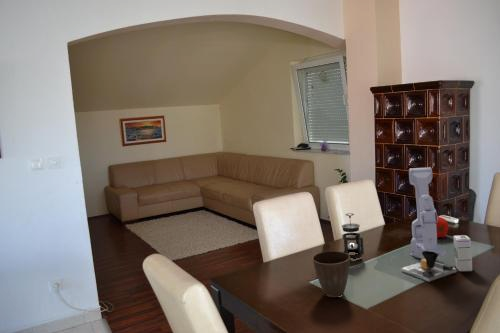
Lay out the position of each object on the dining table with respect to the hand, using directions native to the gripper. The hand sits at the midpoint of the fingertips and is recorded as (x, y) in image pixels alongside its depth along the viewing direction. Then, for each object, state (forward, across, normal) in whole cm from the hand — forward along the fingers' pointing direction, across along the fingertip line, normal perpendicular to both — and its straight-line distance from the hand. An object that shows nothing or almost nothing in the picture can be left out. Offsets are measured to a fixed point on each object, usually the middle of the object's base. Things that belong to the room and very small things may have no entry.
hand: (431, 267), depth 180 cm
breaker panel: (+3, -2, 0) cm, 3 cm away
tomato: (+3, -33, +42) cm, 54 cm away
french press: (+3, -36, -13) cm, 39 cm away
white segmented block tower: (+3, +5, +14) cm, 15 cm away
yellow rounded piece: (+1, -3, 0) cm, 3 cm away
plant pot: (+3, -8, -46) cm, 47 cm away
